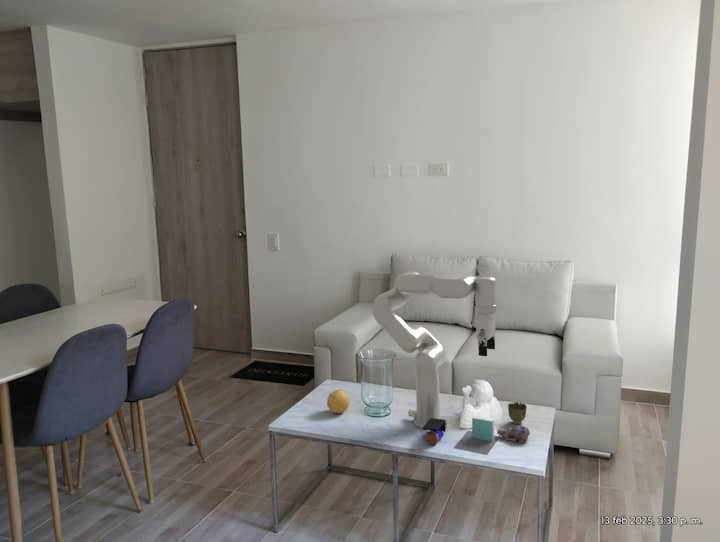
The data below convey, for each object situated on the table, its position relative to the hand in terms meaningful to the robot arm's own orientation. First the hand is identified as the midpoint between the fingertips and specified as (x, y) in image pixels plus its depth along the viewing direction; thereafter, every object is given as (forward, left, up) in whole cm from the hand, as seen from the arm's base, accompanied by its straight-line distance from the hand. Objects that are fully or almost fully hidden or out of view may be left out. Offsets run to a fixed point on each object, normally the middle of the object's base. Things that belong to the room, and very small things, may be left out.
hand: (486, 352), depth 228 cm
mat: (-1, -10, -34) cm, 35 cm away
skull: (+11, 0, -34) cm, 35 cm away
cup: (+8, +14, -34) cm, 38 cm away
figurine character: (-17, -13, -34) cm, 40 cm away
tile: (0, -6, -33) cm, 34 cm away
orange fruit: (-65, -7, -34) cm, 73 cm away
